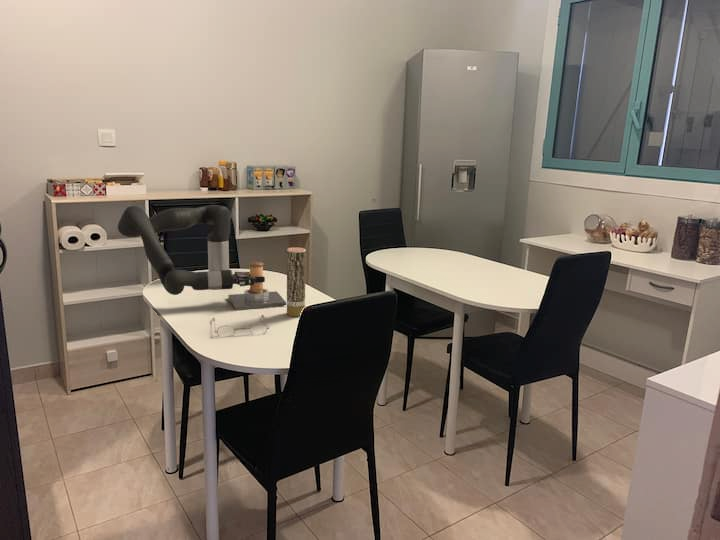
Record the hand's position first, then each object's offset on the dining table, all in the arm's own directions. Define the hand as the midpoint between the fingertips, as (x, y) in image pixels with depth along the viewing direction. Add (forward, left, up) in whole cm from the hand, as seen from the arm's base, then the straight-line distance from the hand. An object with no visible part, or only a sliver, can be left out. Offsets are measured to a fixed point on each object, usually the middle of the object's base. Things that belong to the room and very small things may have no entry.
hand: (262, 277), depth 224 cm
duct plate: (0, -3, -10) cm, 10 cm away
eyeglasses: (+26, -14, -11) cm, 31 cm away
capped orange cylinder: (0, -3, -7) cm, 7 cm away
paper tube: (+19, +8, -10) cm, 23 cm away
